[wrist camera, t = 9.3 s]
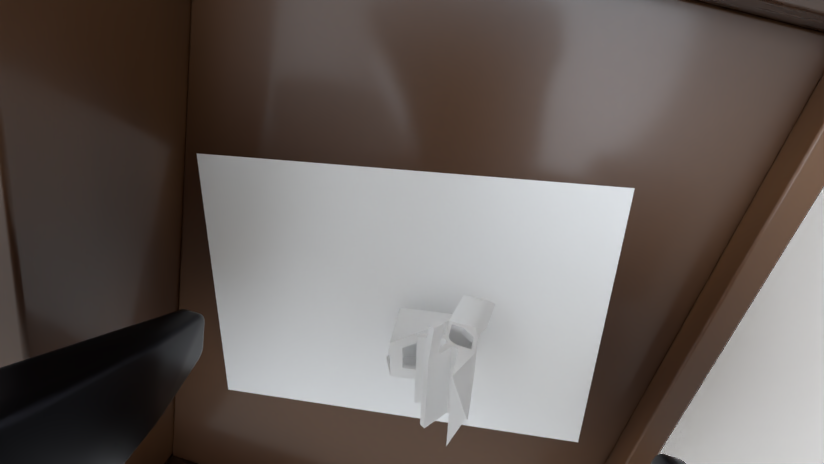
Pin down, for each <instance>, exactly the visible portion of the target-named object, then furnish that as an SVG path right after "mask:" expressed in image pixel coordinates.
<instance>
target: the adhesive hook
mask: <svg viewBox="0 0 824 464" xmlns="http://www.w3.org/2000/svg"><path fill="white" fill-rule="evenodd" d="M495 306H496V304H495V303H494V302H493V301H491V300H489V299H484V298H479V297H474V296H469V295H463V296H462V297H461V299H460V301H459V303H458V304H457V306H456V308H455V309H454V311H453V313H448V312H440V311H431V310H423V309H415V308H406V307H400V308H399V310H398V313H397V317H396V320H395V324H394V327H393V330H392V334H391V337H390V341H389V347H388V351H387V354H386V358H385V359H386V363H387V368H388V373H389V376H390V377H393V378H400V379H407V380H414V388H413V403H414V404H420V416H419V418H420V425H421V426H422V427H423V428H426V427H427V426H429V425H430V424H431V423H433V422H434V421H437V420H438V419H440V418H441V417H443V416H444V415H446V414H448V419H447V423H448V431H447V442H446V446H447V445H448V443H449V442H450V440H451V439H452V437H453V436H454V435H455V433H456V432H457V430H458V429H459V427H460V426H461V425H463V423H464V422H465V420H467V421H468V420H469V415H470V409H471V403H472V396H473V388H474V381H475V372H476V362H477V353H478V345H479V343H480V341H481V339H482V338H483V336H484V334H485V332H486V330H487V328H488V326H489V324H490V321H491V318H492V315H493V312H494V309H495Z"/></svg>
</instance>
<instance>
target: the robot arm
mask: <svg viewBox="0 0 824 464" xmlns="http://www.w3.org/2000/svg"><path fill="white" fill-rule="evenodd" d="M204 325H205V319H204V316H203V315H202V314H200V313H196V312H193V311H190V310H186V309H182V310H178V311H175V312H172V313H169V314H166V315H162V316H159V317H156V318H153V319H150V320H147V321H144V322H141V323H138V324H134V325H131V326H128V327H125V328H122V329H119V330H116V331H113V332H110V333H107V334H103V335H100V336H97V337H94V338H91V339H88V340H85V341H82V342H79V343H75V344H72V345H69V346H66V347H63V348H60V349H57V350H54V351H51V352H47V353H44V354H41V355H38V356H35V357H32V358H29V359H26V360H23V361H19V362H16V363H13V364H10V365H7V366H4V367H1V368H0V464H124V463H125V462H126V461H127V460H128V458H129V457H130V456H131V455H132V454H133V452H134V451H135V450H136V449H137V447H138V446H139V445H140V444H141V443H142V441H143V440H144V439H145V438H146V436H147V435H148V434H149V433H150V431H151V430H152V429H153V427H154V426H155V425H156V423H157V422H158V420H159V419H160V418H161V416H162V415H163V413H164V412H165V410H166V409H167V407H168V406H169V404H170V402H171V401H172V399H173V398H174V396H175V395H176V393H177V392H178V390H179V389H180V387H181V386H182V384H183V383H184V381H185V380H186V378H187V377H188V375H189V374H190V372H191V370H192V369H193V367H194V366H195V364H196V363H197V361H198V360H199V358H200V356H201V353H202V350H203V340H204ZM651 464H686V463H685V462H684V461H682V460H680V459H678V458H675V457H671V456H668V455H665V454H658V455H657V456H655V458H654V459H653V461H652V462H651Z"/></svg>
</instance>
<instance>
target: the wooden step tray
mask: <svg viewBox="0 0 824 464" xmlns="http://www.w3.org/2000/svg"><path fill="white" fill-rule="evenodd" d="M196 153H199V154H211V155H224V156H236V157H249V158H261V159H274V160H286V161H299V162H312V163H324V164H337V165H349V166H362V167H374V168H387V169H399V170H412V171H424V172H437V173H450V174H462V175H475V176H487V177H500V178H512V179H525V180H537V181H550V182H562V183H575V184H588V185H600V186H613V187H625V188H635V190H634V194H633V199H632V203H631V207H630V212H629V216H628V221H627V225H626V230H625V234H624V239H623V243H622V248H621V252H620V257H619V261H618V266H617V270H616V275H615V279H614V283H613V288H612V292H611V297H610V301H609V306H608V310H607V315H606V319H605V324H604V328H603V333H602V337H601V342H600V346H599V351H598V355H597V359H596V364H595V368H594V373H593V377H592V382H591V386H590V391H589V395H588V400H587V404H586V409H585V413H584V418H583V422H582V427H581V431H580V436H579V440H578V442H572V441H566V440H559V439H552V438H546V437H539V436H532V435H526V434H519V433H513V432H506V431H499V430H493V429H486V428H479V427H473V426H466V425H461V426H460V427H459V429H458V430H457V432H456V433H455V435H454V436H453V437H452V439H451V440H450V442H449V443H448V445H447V446H446V442H447V431H448V423H446V422H440V421H434V422H433V423H431V424H430V425H429V426H427V427H426V428H423V427H422V426H421V425H420V418H413V417H407V416H400V415H393V414H387V413H380V412H374V411H367V410H360V409H354V408H347V407H341V406H334V405H327V404H321V403H314V402H307V401H301V400H294V399H288V398H281V397H274V396H268V395H261V394H254V393H248V392H241V391H235V390H228V383H227V376H226V368H225V361H224V354H223V346H222V339H221V331H220V324H219V317H218V309H217V302H216V294H215V287H214V280H213V272H212V265H211V257H210V250H209V242H208V235H207V228H206V220H205V213H204V205H203V198H202V191H201V183H200V176H199V168H198V161H197V154H196ZM823 187H824V0H0V368H1V367H4V366H7V365H10V364H13V363H16V362H19V361H23V360H26V359H29V358H32V357H35V356H38V355H41V354H44V353H47V352H51V351H54V350H57V349H60V348H63V347H66V346H69V345H72V344H75V343H79V342H82V341H85V340H88V339H91V338H94V337H97V336H100V335H103V334H107V333H110V332H113V331H116V330H119V329H122V328H125V327H128V326H131V325H134V324H138V323H141V322H144V321H147V320H150V319H153V318H156V317H159V316H162V315H166V314H169V313H172V312H175V311H178V310H182V309H186V310H190V311H193V312H196V313H200V314H202V315H203V316H204V319H205V325H204V340H203V350H202V353H201V356H200V358H199V360H198V361H197V363H196V364H195V366H194V367H193V369H192V370H191V372H190V374H189V375H188V377H187V378H186V380H185V381H184V383H183V384H182V386H181V387H180V389H179V390H178V392H177V393H176V395H175V396H174V398H173V399H172V401H171V402H170V404H169V406H168V407H167V409H166V410H165V412H164V413H163V415H162V416H161V418H160V419H159V420H158V422H157V423H156V425H155V426H154V427H153V429H152V430H151V431H150V433H149V434H148V435H147V436H146V438H145V439H144V440H143V441H142V443H141V444H140V445H139V446H138V447H137V449H136V450H135V451H134V452H133V454H132V455H131V456H130V457H129V458H128V460H127V461H126V462H125V463H124V464H651V462H652V461H653V459H654V458H655V456H657V455H658V454H659V453H660V451H661V449H662V448H663V446H664V445H665V443H666V441H667V440H668V438H669V436H670V435H671V433H672V432H673V430H674V428H675V427H676V425H677V423H678V422H679V420H680V419H681V417H682V415H683V414H684V412H685V411H686V409H687V407H688V406H689V404H690V402H691V401H692V399H693V398H694V396H695V394H696V393H697V391H698V389H699V388H700V386H701V385H702V383H703V381H704V380H705V378H706V377H707V375H708V373H709V372H710V370H711V368H712V367H713V365H714V364H715V362H716V360H717V359H718V357H719V355H720V354H721V352H722V351H723V349H724V347H725V346H726V344H727V342H728V341H729V339H730V338H731V336H732V334H733V333H734V331H735V330H736V328H737V326H738V325H739V323H740V321H741V320H742V318H743V317H744V315H745V313H746V312H747V310H748V308H749V307H750V305H751V304H752V302H753V300H754V299H755V297H756V295H757V294H758V292H759V291H760V289H761V287H762V286H763V284H764V283H765V281H766V279H767V278H768V276H769V274H770V273H771V271H772V270H773V268H774V266H775V265H776V263H777V261H778V260H779V258H780V257H781V255H782V253H783V252H784V250H785V249H786V247H787V245H788V244H789V242H790V240H791V239H792V237H793V236H794V234H795V232H796V231H797V229H798V227H799V226H800V224H801V223H802V221H803V219H804V218H805V216H806V214H807V213H808V211H809V210H810V208H811V206H812V205H813V203H814V202H815V200H816V198H817V197H818V195H819V193H820V192H821V190H822V189H823Z"/></svg>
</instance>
